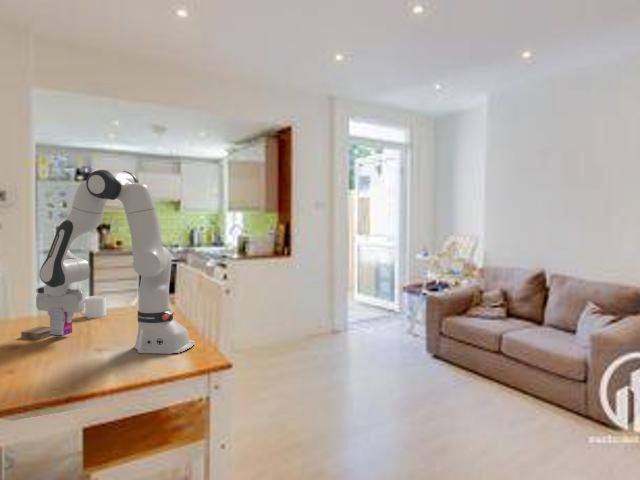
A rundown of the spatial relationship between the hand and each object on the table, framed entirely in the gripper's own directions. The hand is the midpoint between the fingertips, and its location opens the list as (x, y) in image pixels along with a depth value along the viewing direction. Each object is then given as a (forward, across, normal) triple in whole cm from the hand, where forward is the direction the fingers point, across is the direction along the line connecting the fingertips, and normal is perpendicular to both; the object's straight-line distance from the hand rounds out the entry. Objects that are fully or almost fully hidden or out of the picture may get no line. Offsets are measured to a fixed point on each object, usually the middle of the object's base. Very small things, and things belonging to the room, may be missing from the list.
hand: (61, 321), depth 177 cm
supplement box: (+5, 0, 0) cm, 5 cm away
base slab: (+6, +10, 0) cm, 12 cm away
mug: (+7, +12, -33) cm, 36 cm away
